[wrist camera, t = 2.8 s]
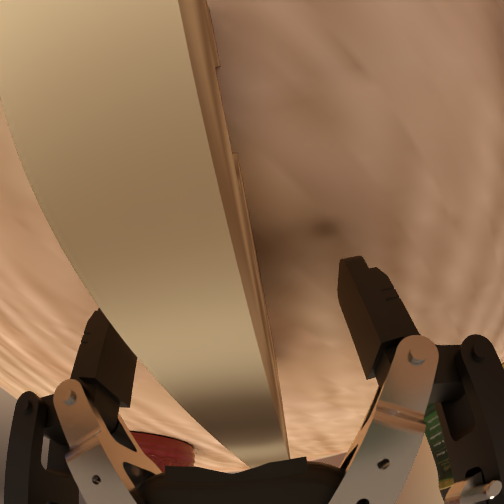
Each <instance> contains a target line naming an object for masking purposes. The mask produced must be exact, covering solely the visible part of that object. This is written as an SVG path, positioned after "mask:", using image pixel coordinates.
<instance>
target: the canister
mask: <svg viewBox="0 0 504 504" xmlns="http://www.w3.org/2000/svg"><path fill="white" fill-rule="evenodd" d="M130 433H131V434H132V436H133V437H134V439H135V441H136V442H137V444H138V445H139V447H140V448H141V450H142V451H143V453H144V454H145V455H146V456H147V457H148V458H149V459H151V460H152V461H153V462H154V463H155V464H156V466H157V467H158V468H159V469H160V470H161V472H165V466H182V467H194V463H195V460H194V458H195V455H194V453H193V447H192V446H190V445H189V444H187V443H184V442H182V441H179V440H175V439H171V438H167V437H162V436H157V435H151V434H145V433H136V432H130Z"/></svg>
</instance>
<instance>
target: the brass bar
mask: <svg viewBox="0 0 504 504" xmlns="http://www.w3.org/2000/svg"><path fill="white" fill-rule="evenodd" d="M217 66H220V62H219V57H218V52H217V47H216V42H215V37H214V32H213V27H212V22H211V17H210V12H209V7H208V5H207V2H206V0H0V98H1V102H2V106H3V109H4V113H5V116H6V120H7V123H8V126H9V129H10V132H11V136H12V138H13V141H14V144H15V147H16V150H17V153H18V155H19V158H20V161H21V163H22V166H23V168H24V171H25V173H26V176H27V178H28V180H29V183H30V185H31V187H32V190H33V192H34V194H35V196H36V199H37V201H38V203H39V205H40V207H41V209H42V211H43V213H44V215H45V217H46V219H47V221H48V223H49V225H50V227H51V229H52V231H53V233H54V235H55V236H56V238H57V240H58V242H59V244H60V246H61V247H62V249H63V251H64V253H65V254H66V256H67V258H68V259H69V261H70V263H71V265H72V266H73V268H74V269H75V271H76V273H77V274H78V276H79V278H80V279H81V281H82V282H83V284H84V285H85V287H86V288H87V290H88V291H89V293H90V295H91V296H92V297H93V299H94V300H95V302H96V303H97V305H98V306H99V308H100V309H101V311H102V312H103V313H104V315H105V316H106V318H107V319H108V320H109V322H110V323H111V324H112V326H113V327H114V328H115V330H116V331H117V332H118V334H119V335H120V336H121V338H122V339H123V340H124V341H125V343H126V344H127V345H128V346H129V348H130V349H131V350H132V351H133V353H134V354H135V355H136V356H137V358H138V359H139V360H140V361H141V362H142V364H143V365H144V366H145V367H146V368H147V369H148V371H149V372H150V373H151V374H152V375H153V376H154V377H155V378H156V380H157V381H158V382H159V383H160V384H161V385H162V386H163V387H164V388H165V389H166V391H167V392H168V393H169V394H170V395H171V396H172V397H173V398H174V399H175V400H176V401H177V402H178V403H179V404H180V405H181V406H182V407H183V408H184V409H185V410H186V411H187V412H188V413H189V414H190V415H191V416H192V417H193V418H194V419H195V420H196V421H197V422H198V423H199V424H200V425H201V426H202V427H203V428H204V429H206V430H207V431H208V432H209V433H210V434H211V435H212V436H213V437H214V438H215V439H217V440H218V441H219V442H220V443H221V444H222V445H223V446H225V447H226V448H227V449H228V450H229V451H230V452H232V453H233V454H234V455H235V456H236V457H238V458H239V459H240V460H241V461H243V462H244V463H245V464H246V465H248V466H249V467H250V468H255V467H258V466H261V465H263V464H266V463H269V462H275V461H282V460H289V459H290V453H289V446H288V439H287V432H286V425H285V418H284V411H283V404H282V398H281V391H280V384H279V377H278V371H277V364H276V357H275V352H274V347H273V341H272V336H271V330H270V325H269V320H268V314H267V309H266V303H265V298H264V293H263V287H262V282H261V277H260V271H259V266H258V261H257V255H256V250H255V245H254V239H253V234H252V229H251V224H250V218H249V213H248V208H247V203H246V197H245V192H244V187H243V181H242V176H241V171H240V166H239V161H238V155H237V153H234V154H232V150H231V145H230V140H229V135H228V130H227V125H226V120H225V115H224V110H223V105H222V100H221V95H220V90H219V85H218V80H217V75H216V70H215V67H217Z"/></svg>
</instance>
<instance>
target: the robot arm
mask: <svg viewBox="0 0 504 504" xmlns="http://www.w3.org/2000/svg"><path fill="white" fill-rule="evenodd" d="M338 299H339V303H340V306H341V309H342V312H343V314H344V317H345V320H346V322H347V325H348V328H349V330H350V333H351V336H352V339H353V342H354V344H355V347H356V350H357V353H358V356H359V359H360V361H361V364H362V367H363V370H364V373H365V376H366V379H367V380H368V379H371V378H375V377H376V379H377V382H378V385H379V386H378V388H377V390H376V393H375V395H374V398H373V400H372V403H371V405H370V408H369V410H368V412H367V414H366V417H365V419H364V421H363V423H362V426H361V428H360V430H359V432H358V434H357V436H356V438H355V439H354V441H353V443H352V445H351V447H350V448H349V450H348V452H347V454H346V456H345V458H344V460H343V462H342V464H341V465H340V467H339V468H338V467H335V466H332V465H329V464H325V463H321V462H313V461H307V459H306V457H301V458H295V459H289V460H282V461H275V462H269V463H266V464H263V465H261V466H258V467H255V468H252V469H249V470H245V471H242V472H239V473H235V474H229V473H224V472H219V471H214V470H209V469H205V468H200V467H182V466H165V472H161V470H160V469H159V468H158V467H157V466H156V464H155V463H154V462H153V461H152V460H151V459H149V458H148V457H147V456H146V455H145V454H144V453H143V451H142V450H141V448H140V447H139V445H138V444H137V442H136V441H135V439H134V437H133V436H132V434H131V433H130V431H129V429H128V428H127V426H126V424H125V423H124V421H123V419H122V417H121V416H120V415H119V414H118V412H119V407H127V408H130V402H131V395H132V388H133V381H134V374H135V368H136V362H137V356H136V355H135V354H134V353H133V351H132V350H131V349H130V348H129V346H128V345H127V344H126V343H125V341H124V340H123V339H122V338H121V336H120V335H119V334H118V332H117V331H116V330H115V328H114V327H113V326H112V324H111V323H110V322H109V320H108V319H107V318H106V316H105V315H104V313H103V312H102V311H101V309H100V308H99V309H98V311H95V312H94V313H93V315H92V316H91V318H90V319H89V320H88V322H87V325H86V328H85V331H84V335H83V337H82V340H81V344H80V347H79V350H78V353H77V357H76V360H75V364H74V367H73V371H72V374H71V378H70V379H67V380H65V381H63V382H62V383H60V385H59V386H58V387H57V388H56V390H55V393H54V394H52V395H49V396H46V397H42V398H40V397H38V396H37V395H36V394H35V393H33V392H31V391H27V392H25V393H23V394H22V395H21V396H20V397H19V399H18V400H17V403H16V406H15V411H14V416H13V421H12V427H11V432H10V438H9V446H8V452H7V461H6V471H5V487H4V504H79V490H80V492H81V494H82V496H83V497H84V499H85V501H86V503H87V504H395V503H396V501H397V499H398V497H399V495H400V492H401V491H402V488H403V486H404V484H405V482H406V480H407V477H408V475H409V473H410V470H411V468H412V466H413V463H414V461H415V458H416V456H417V453H418V450H419V448H420V445H421V442H422V439H423V436H424V433H425V428H426V423H425V422H424V415H425V411H426V408H427V405H428V403H434V405H435V409H436V412H437V415H438V419H439V422H440V425H441V429H442V433H443V436H444V440H445V444H446V448H447V452H448V456H449V461H450V465H451V470H452V475H453V480H454V485H453V486H452V487H451V488H450V489H449V491H448V492H447V494H446V497H445V502H444V504H504V368H503V366H502V364H501V362H500V359H499V357H498V355H497V353H496V351H495V349H494V347H493V345H492V343H491V342H490V341H489V340H488V339H487V338H485V337H484V336H481V335H477V334H475V335H470V336H468V337H467V338H465V340H464V341H463V342H462V344H461V345H436V344H434V343H433V342H432V341H431V340H430V339H428V338H426V337H424V336H421V335H420V334H419V332H418V331H417V329H416V327H415V325H414V323H413V321H412V319H411V317H410V315H409V314H408V312H407V310H406V308H405V306H404V304H403V302H402V301H401V299H400V298H399V295H398V293H397V292H396V290H395V289H394V286H393V285H392V283H391V281H390V279H389V278H388V276H387V275H386V274H385V273H383V272H382V271H381V270H380V269H378V268H377V267H375V268H370V269H369V267H368V266H367V264H366V262H365V260H364V259H363V257H362V256H355V257H350V258H344V259H341V260H340V263H339V277H338ZM43 436H45V437H47V438H48V439H50V444H49V453H48V465H47V469H46V470H45V469H44V468H43V466H42V464H41V452H42V444H43Z"/></svg>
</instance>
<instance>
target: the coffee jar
mask: <svg viewBox="0 0 504 504" xmlns="http://www.w3.org/2000/svg"><path fill="white" fill-rule="evenodd" d="M424 422H425V423H426V428H425V435H426V437H427V440H428V442H429V445H430V448H431V451H432V454H433V457H434V460H435V463H436V466H437V471H438V478H439V489H440V492H441V495H442V497H443V500H444V502H445V497H446V494H447V492H448V491H449V489H450V488H451V487H452V486H453V485H454V480H453V475H452V470H451V465H450V461H449V456H448V452H447V448H446V444H445V440H444V436H443V433H442V429H441V425H440V422H439V419H438V415H437V412H436V409H435V405H434V403H428V405H427V408H426V411H425V415H424Z"/></svg>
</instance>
